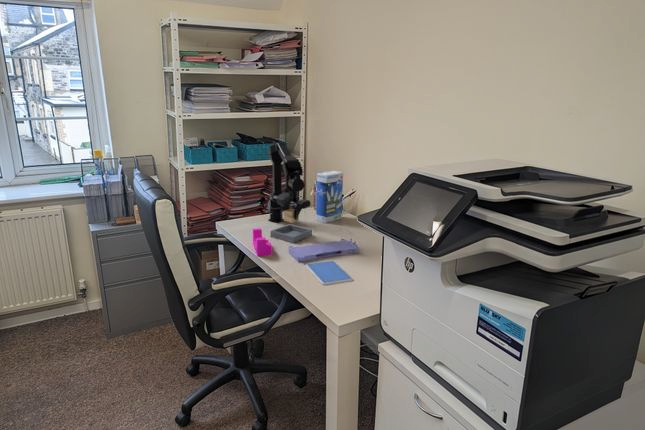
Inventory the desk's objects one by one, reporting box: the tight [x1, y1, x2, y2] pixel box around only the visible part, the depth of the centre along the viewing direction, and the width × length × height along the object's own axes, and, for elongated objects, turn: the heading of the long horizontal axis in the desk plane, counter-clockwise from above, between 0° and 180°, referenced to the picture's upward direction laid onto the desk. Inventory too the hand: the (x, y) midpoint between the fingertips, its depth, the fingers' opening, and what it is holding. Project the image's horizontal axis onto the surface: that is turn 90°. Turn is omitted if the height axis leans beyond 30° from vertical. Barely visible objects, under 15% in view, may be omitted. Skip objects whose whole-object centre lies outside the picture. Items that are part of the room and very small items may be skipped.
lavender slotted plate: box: [288, 238, 360, 263], centre depth 188 cm, size 30×4×15 cm
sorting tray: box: [270, 223, 313, 244], centre depth 207 cm, size 14×14×3 cm
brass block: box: [283, 208, 300, 224], centre depth 204 cm, size 5×5×5 cm
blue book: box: [305, 260, 354, 286], centre depth 168 cm, size 19×13×1 cm, turn 22°
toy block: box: [252, 227, 273, 257], centre depth 189 cm, size 15×6×8 cm, turn 16°
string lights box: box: [315, 170, 344, 224], centre depth 231 cm, size 13×8×26 cm, turn 136°
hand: (291, 218), depth 205 cm, fingers closed on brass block, 5 cm apart
